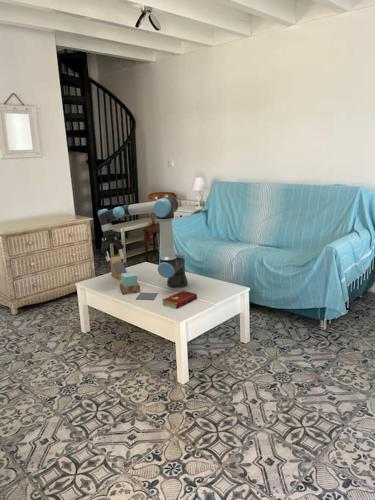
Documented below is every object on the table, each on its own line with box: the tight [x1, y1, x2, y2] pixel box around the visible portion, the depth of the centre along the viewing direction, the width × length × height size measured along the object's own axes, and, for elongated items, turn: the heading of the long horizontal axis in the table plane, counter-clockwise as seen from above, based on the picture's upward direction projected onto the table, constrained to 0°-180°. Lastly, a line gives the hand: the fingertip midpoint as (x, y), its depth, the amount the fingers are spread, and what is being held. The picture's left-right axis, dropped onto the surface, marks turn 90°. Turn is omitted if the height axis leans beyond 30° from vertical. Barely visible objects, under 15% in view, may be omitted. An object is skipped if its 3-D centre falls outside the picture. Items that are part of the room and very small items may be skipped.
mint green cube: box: [121, 271, 138, 287], centre depth 279 cm, size 9×9×7 cm
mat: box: [135, 292, 159, 301], centre depth 269 cm, size 12×12×1 cm
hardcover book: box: [161, 289, 198, 310], centre depth 258 cm, size 12×21×4 cm, turn 141°
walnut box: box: [119, 281, 141, 295], centre depth 280 cm, size 12×11×7 cm
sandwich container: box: [109, 255, 128, 281], centre depth 311 cm, size 9×15×15 cm, turn 37°
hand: (115, 259), depth 283 cm, fingers open, 13 cm apart
